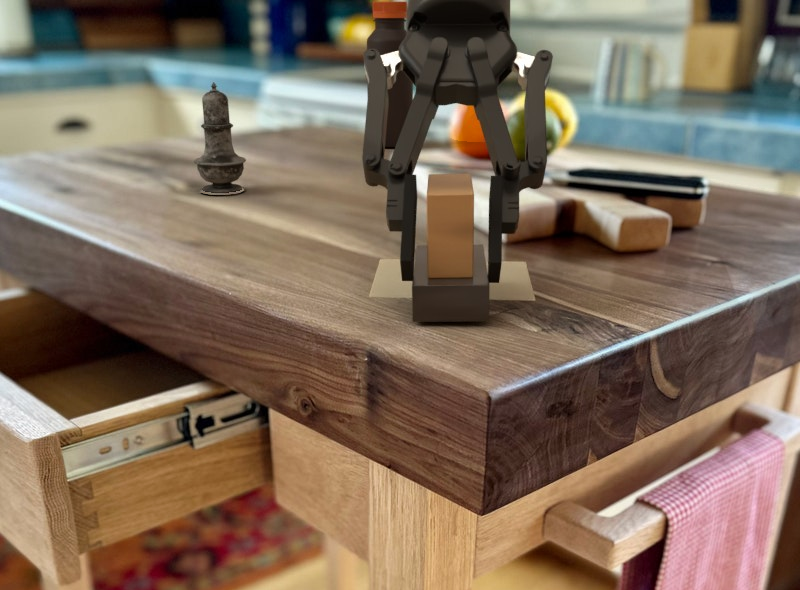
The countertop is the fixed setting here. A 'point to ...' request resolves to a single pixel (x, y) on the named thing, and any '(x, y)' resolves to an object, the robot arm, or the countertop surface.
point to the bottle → (387, 41)
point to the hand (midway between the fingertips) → (450, 271)
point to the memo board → (511, 276)
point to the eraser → (450, 256)
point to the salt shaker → (218, 146)
